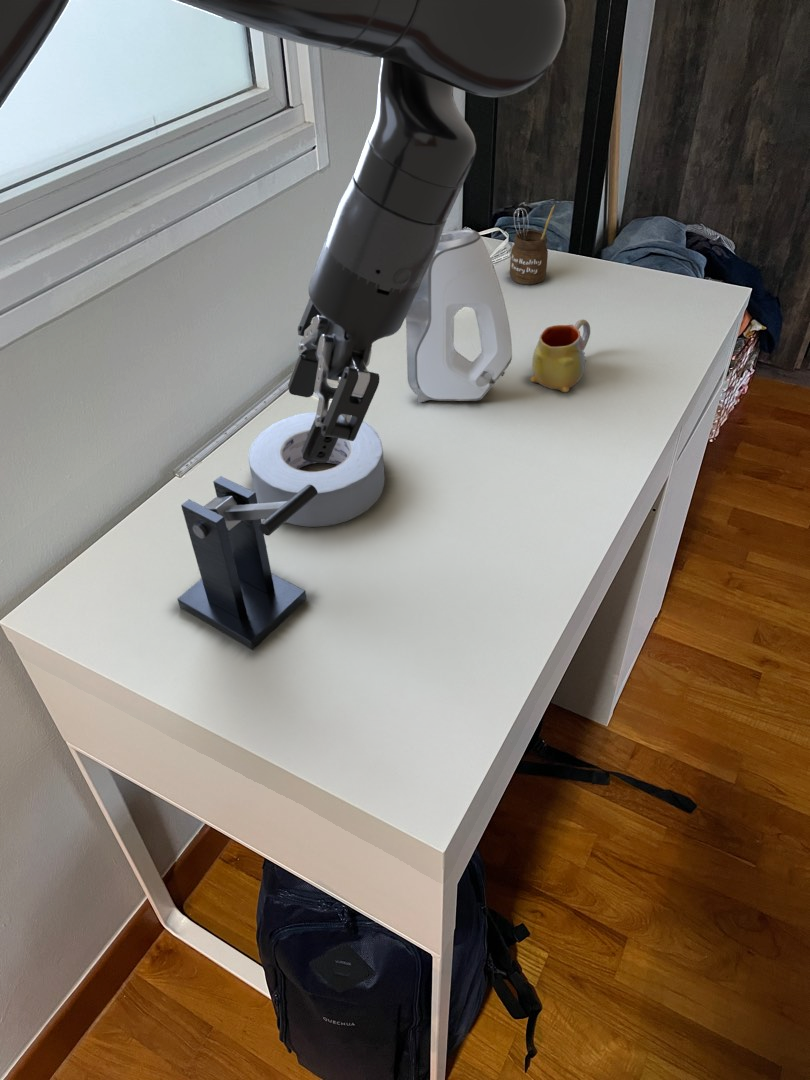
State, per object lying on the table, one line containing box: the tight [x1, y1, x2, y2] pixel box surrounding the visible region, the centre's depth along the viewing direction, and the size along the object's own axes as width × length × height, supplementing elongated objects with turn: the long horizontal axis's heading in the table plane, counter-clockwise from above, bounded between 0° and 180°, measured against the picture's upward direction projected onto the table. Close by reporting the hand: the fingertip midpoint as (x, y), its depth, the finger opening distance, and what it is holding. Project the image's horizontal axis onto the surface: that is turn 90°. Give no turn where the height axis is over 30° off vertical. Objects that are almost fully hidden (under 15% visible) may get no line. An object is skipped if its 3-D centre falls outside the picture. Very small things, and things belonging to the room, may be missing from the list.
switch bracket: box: [177, 475, 307, 651], centre depth 78 cm, size 10×8×14 cm
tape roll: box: [248, 411, 385, 528], centre depth 95 cm, size 15×15×5 cm
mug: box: [530, 319, 591, 393], centre depth 111 cm, size 12×7×7 cm, turn 141°
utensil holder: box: [509, 204, 556, 286], centre depth 130 cm, size 6×6×12 cm
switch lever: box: [203, 484, 318, 537], centre depth 71 cm, size 12×6×2 cm, turn 54°
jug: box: [405, 229, 513, 403], centre depth 102 cm, size 13×5×22 cm, turn 83°
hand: (305, 425), depth 69 cm, fingers open, 8 cm apart
